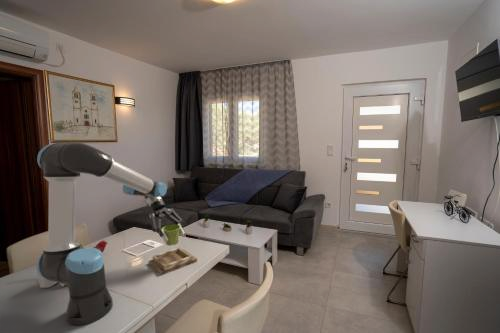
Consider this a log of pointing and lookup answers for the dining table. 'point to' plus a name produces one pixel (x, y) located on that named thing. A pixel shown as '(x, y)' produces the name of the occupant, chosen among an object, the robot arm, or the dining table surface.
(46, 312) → the dining table surface
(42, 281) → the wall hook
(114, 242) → the dining table surface
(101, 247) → the decorative bird figurine
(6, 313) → the dining table surface
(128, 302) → the dining table surface
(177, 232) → the plant pot
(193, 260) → the walnut pot stand
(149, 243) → the photo frame
